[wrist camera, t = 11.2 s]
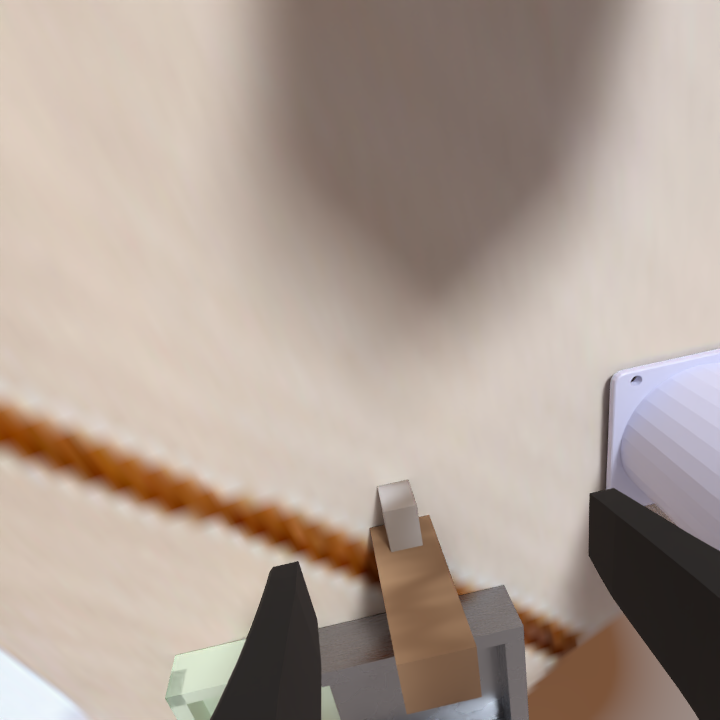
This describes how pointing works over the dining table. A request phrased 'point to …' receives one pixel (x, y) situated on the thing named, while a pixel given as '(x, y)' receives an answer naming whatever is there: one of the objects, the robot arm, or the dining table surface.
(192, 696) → the tray
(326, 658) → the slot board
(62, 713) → the dining table surface
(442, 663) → the brown block with peg
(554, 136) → the dining table surface
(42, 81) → the dining table surface
